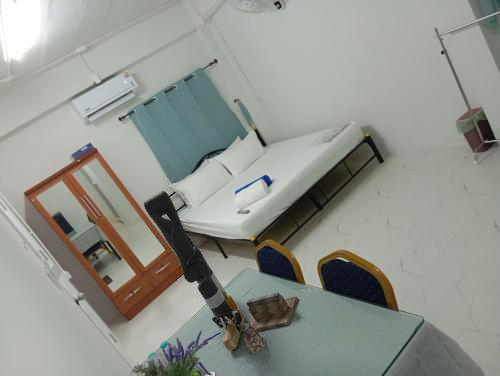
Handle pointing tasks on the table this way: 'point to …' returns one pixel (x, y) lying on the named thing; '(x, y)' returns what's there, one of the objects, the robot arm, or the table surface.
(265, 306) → the ridge stand
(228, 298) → the carrot
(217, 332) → the table surface
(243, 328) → the figurine
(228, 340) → the oak batten
